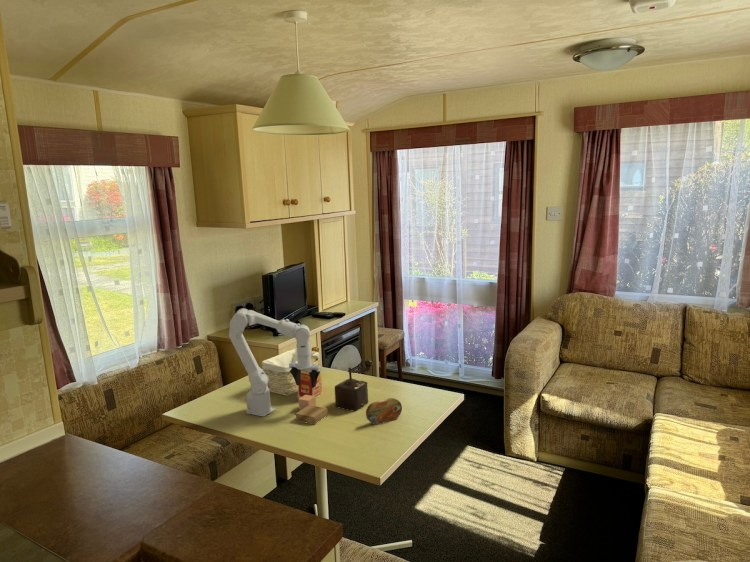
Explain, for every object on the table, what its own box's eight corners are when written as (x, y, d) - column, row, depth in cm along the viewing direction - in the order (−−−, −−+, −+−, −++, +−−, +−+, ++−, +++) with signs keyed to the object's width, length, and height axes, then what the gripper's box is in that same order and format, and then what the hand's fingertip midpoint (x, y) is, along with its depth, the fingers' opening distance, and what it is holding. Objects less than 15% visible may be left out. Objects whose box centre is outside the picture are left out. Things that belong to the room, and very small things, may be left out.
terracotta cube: (299, 410, 216) (298, 398, 215) (306, 405, 220) (305, 394, 220) (309, 412, 214) (308, 400, 213) (315, 407, 218) (315, 396, 217)
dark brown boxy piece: (356, 412, 212) (354, 370, 209) (334, 407, 217) (332, 366, 214) (376, 398, 224) (374, 359, 221) (355, 394, 230) (353, 355, 227)
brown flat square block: (296, 420, 206) (295, 413, 205) (309, 411, 214) (308, 405, 213) (314, 424, 202) (314, 417, 201) (327, 415, 210) (327, 408, 209)
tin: (368, 426, 198) (367, 406, 196) (365, 423, 201) (364, 403, 199) (402, 417, 205) (402, 397, 203) (398, 414, 207) (398, 395, 206)
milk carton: (297, 398, 229) (294, 354, 226) (307, 390, 238) (304, 348, 234) (315, 400, 226) (312, 356, 222) (325, 392, 234) (322, 350, 231)
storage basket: (287, 398, 229) (285, 366, 227) (262, 391, 239) (259, 361, 236) (322, 381, 249) (320, 351, 246) (297, 375, 258) (295, 347, 256)
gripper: (283, 355, 213) (286, 387, 215) (313, 359, 206) (315, 391, 209) (293, 350, 219) (295, 381, 221) (322, 354, 213) (324, 385, 215)
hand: (306, 385), depth 215 cm, fingers open, 7 cm apart
